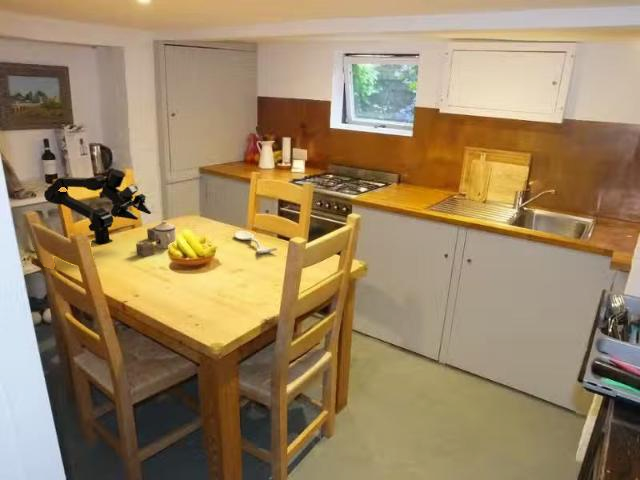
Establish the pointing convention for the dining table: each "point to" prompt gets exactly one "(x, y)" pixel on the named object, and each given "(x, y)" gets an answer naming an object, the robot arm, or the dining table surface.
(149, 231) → the walnut block three dots
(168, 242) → the teacup with lid
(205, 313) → the dining table surface
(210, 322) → the dining table surface
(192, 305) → the dining table surface
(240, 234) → the spoon
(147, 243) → the walnut block two dots
